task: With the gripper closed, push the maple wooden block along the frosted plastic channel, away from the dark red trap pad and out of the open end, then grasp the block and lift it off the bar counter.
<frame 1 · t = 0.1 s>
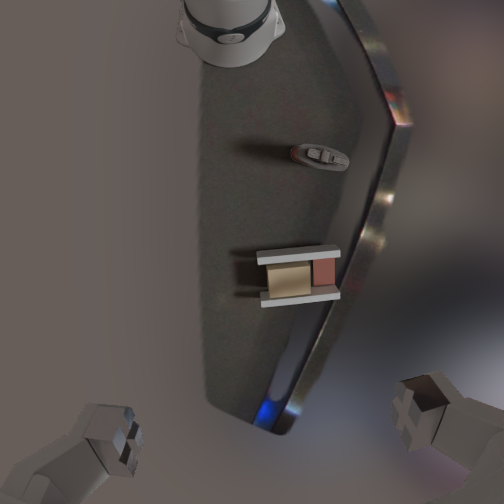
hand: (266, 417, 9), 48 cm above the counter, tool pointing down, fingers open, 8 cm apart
maple block: (285, 272, 59), on the counter
trap pad: (323, 268, 58), on the counter
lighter: (312, 157, 53), on the counter
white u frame: (297, 271, 58), on the counter
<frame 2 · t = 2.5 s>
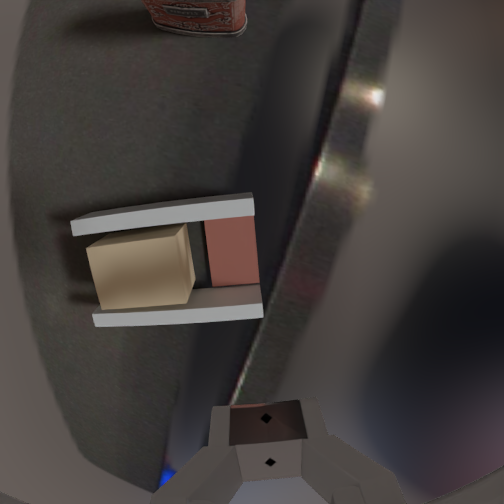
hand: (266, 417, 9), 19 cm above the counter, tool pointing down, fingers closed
maple block: (151, 255, 27), on the counter
trap pad: (232, 248, 27), on the counter
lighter: (199, 20, 22), on the counter
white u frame: (173, 254, 27), on the counter
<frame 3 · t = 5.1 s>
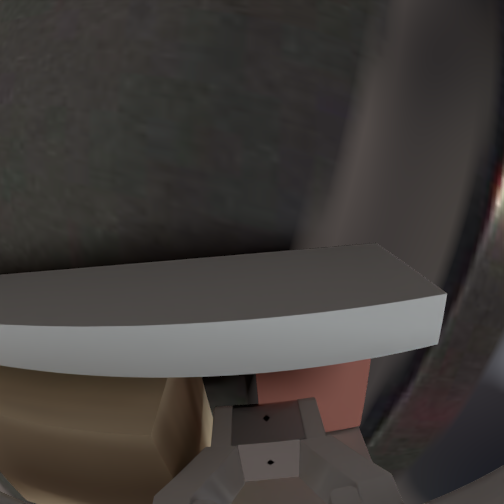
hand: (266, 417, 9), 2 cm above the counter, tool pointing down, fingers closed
maple block: (113, 381, 11), on the counter, touching gripper
trap pad: (313, 372, 11), on the counter
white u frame: (172, 382, 11), on the counter
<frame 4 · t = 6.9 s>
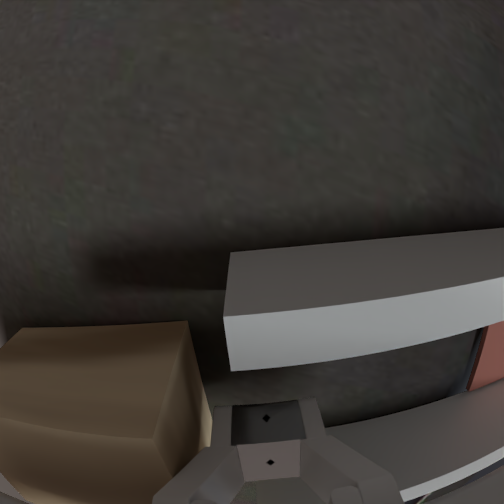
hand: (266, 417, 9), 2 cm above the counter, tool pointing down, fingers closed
maple block: (113, 383, 11), on the counter, touching gripper
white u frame: (427, 347, 11), on the counter
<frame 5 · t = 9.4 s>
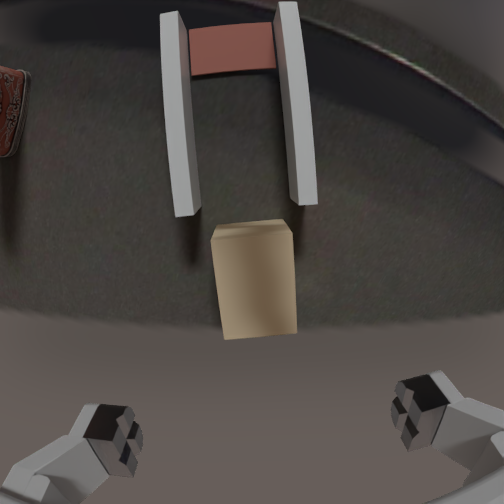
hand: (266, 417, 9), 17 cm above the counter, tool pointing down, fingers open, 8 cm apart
maple block: (253, 265, 26), on the counter
trap pad: (231, 48, 21), on the counter
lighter: (15, 113, 21), on the counter
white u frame: (237, 108, 22), on the counter
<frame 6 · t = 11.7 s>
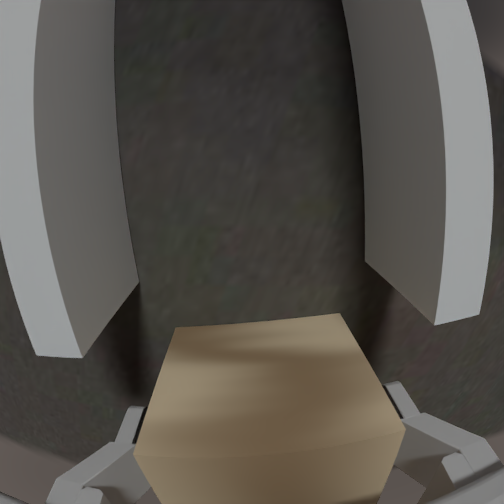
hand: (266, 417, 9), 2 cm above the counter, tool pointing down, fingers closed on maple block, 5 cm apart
maple block: (265, 406, 11), on the counter, touching gripper
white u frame: (229, 25, 7), on the counter
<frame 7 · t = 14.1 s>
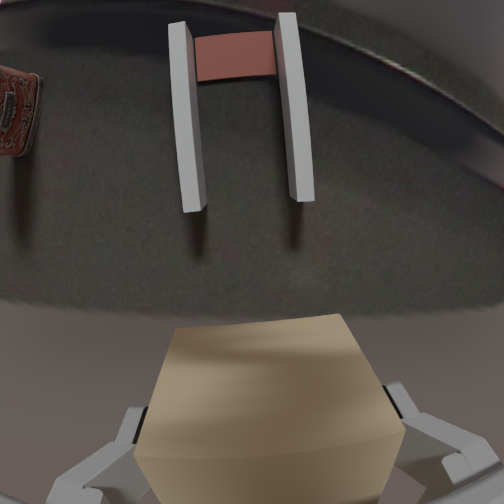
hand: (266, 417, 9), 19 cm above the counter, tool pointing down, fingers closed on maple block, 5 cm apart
maple block: (265, 406, 11), point 17 cm above the counter, touching gripper
trap pad: (235, 55, 22), on the counter
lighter: (28, 115, 23), on the counter
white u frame: (240, 112, 24), on the counter
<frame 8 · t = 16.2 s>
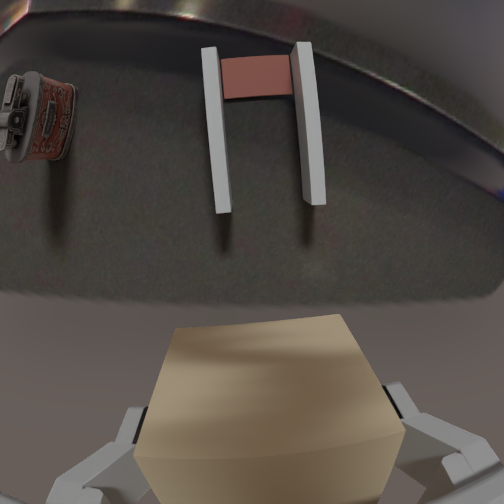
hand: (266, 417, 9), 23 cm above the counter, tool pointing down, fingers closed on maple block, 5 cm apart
maple block: (265, 406, 10), point 21 cm above the counter, touching gripper
trap pad: (256, 76, 27), on the counter
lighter: (63, 122, 27), on the counter
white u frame: (261, 127, 28), on the counter
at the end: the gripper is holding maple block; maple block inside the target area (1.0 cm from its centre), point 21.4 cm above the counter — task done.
